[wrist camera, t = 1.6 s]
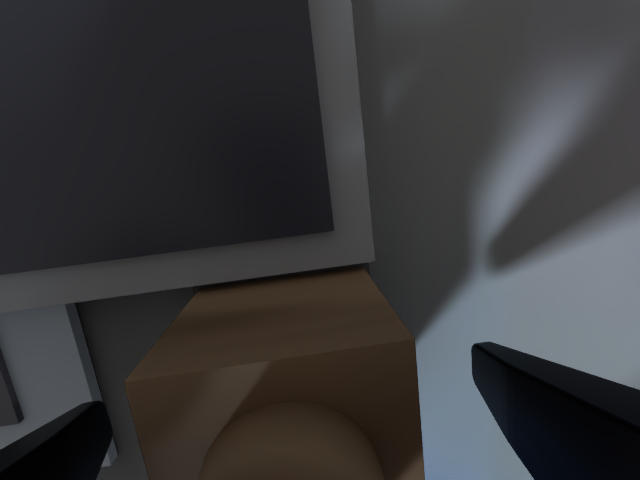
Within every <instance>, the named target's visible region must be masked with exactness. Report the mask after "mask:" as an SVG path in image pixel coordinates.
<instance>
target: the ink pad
mask: <svg viewBox="0 0 640 480" xmlns="http://www.w3.org/2000/svg"><path fill="white" fill-rule="evenodd" d="M374 261H375V252H374V241H373V230H372V219H371V209H370V198H369V187H368V176H367V165H366V154H365V144H364V133H363V122H362V111H361V100H360V89H359V79H358V68H357V57H356V46H355V35H354V24H353V14H352V3H351V0H0V313H3V312H11V311H18V310H25V309H32V308H40V307H47V306H54V305H61V304H69V303H76V302H83V301H91V300H98V299H105V298H112V297H120V296H127V295H134V294H141V293H149V292H156V291H163V290H171V289H178V288H185V287H192V286H200V285H207V284H214V283H221V282H229V281H236V280H243V279H250V278H258V277H265V276H272V275H280V274H287V273H294V272H301V271H309V270H316V269H323V268H330V267H338V266H345V265H352V264H360V263H367V262H374Z"/></svg>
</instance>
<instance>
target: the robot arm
mask: <svg viewBox="0 0 640 480" xmlns="http://www.w3.org/2000/svg"><path fill="white" fill-rule="evenodd" d="M471 354H472V376H473V380H474V382H475V385H476V386H477V388H478V390H479V392H480V394H481V395H482V397H483V399H484V401H485V402H486V404H487V406H488V408H489V409H490V411H491V413H492V415H493V417H494V418H495V420H496V422H497V424H498V425H499V427H500V429H501V431H502V432H503V434H504V436H505V437H506V439H507V441H508V442H509V444H510V445H511V447H512V448H513V450H514V451H515V453H516V454H517V455H518V457H519V458H520V460H521V461H522V463H523V464H524V465H525V467H526V468H527V470H528V471H529V473H530V474H531V475H532V477H533V478H534V480H640V390H638V389H635V388H632V387H629V386H626V385H623V384H619V383H616V382H613V381H610V380H607V379H604V378H601V377H598V376H595V375H592V374H588V373H585V372H582V371H579V370H576V369H573V368H570V367H567V366H564V365H561V364H557V363H554V362H551V361H548V360H545V359H542V358H539V357H536V356H533V355H530V354H526V353H523V352H520V351H517V350H514V349H511V348H508V347H505V346H502V345H499V344H495V343H492V342H482V343H476V344H474V345H473V346H472V349H471ZM112 436H113V431H112V426H111V423H110V419H109V416H108V412H107V409H106V405H105V404H104V402H102V401H91V402H85V403H82V404H80V405H78V406H76V407H75V408H73V409H71V410H69V411H68V412H66V413H64V414H62V415H61V416H59V417H57V418H55V419H53V420H52V421H50V422H48V423H46V424H45V425H43V426H41V427H39V428H38V429H36V430H34V431H32V432H30V433H29V434H27V435H25V436H23V437H22V438H20V439H18V440H16V441H15V442H13V443H11V444H9V445H7V446H6V447H4V448H2V449H0V480H96V478H97V476H98V473H99V471H100V469H101V466H102V464H103V461H104V459H105V456H106V454H107V451H108V449H109V446H110V444H111V441H112Z"/></svg>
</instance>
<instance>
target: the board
mask: <svg viewBox="0 0 640 480" xmlns="http://www.w3.org/2000/svg"><path fill="white" fill-rule="evenodd" d="M91 401H102V397H101V394H100V390H99V387H98V383H97V380H96V376H95V373H94V369H93V365H92V362H91V358H90V355H89V351H88V348H87V344H86V341H85V337H84V333H83V330H82V326H81V323H80V319H79V316H78V312H77V309H76V305H75V303H69V304H61V305H54V306H47V307H40V308H32V309H25V310H18V311H11V312H3V313H0V449H2V448H4V447H6V446H7V445H9V444H11V443H13V442H15V441H16V440H18V439H20V438H22V437H23V436H25V435H27V434H29V433H30V432H32V431H34V430H36V429H38V428H39V427H41V426H43V425H45V424H46V423H48V422H50V421H52V420H53V419H55V418H57V417H59V416H61V415H62V414H64V413H66V412H68V411H69V410H71V409H73V408H75V407H76V406H78V405H80V404H82V403H85V402H91ZM102 402H103V401H102ZM117 456H118V454H117V451H116V447H115V444H114V440H113V436H112V441H111V444H110V446H109V449H108V451H107V454H106V456H105V459H104V461H103V464H102V466H101V467H106V466H111V465H112V464H113V462H114V460H115V459H116V457H117Z"/></svg>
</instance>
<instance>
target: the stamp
mask: <svg viewBox="0 0 640 480" xmlns="http://www.w3.org/2000/svg"><path fill="white" fill-rule="evenodd" d="M193 289H194V294H195V295H194V296H193V298H192V299H191V300H190V301H189V303H188V304H187V305H186V306H185V307H184V309H183V310H182V311H181V312H180V314H179V315H178V316H177V317H176V318H175V320H174V321H173V322H172V323H171V325H170V326H169V327H168V328H167V329H166V331H165V332H164V333H163V334H162V336H161V337H160V338H159V339H158V340H157V342H156V343H155V344H154V345H153V347H152V348H151V349H150V350H149V351H148V353H147V354H146V355H145V356H144V358H143V359H142V360H141V361H140V363H139V364H138V365H137V366H136V367H135V369H134V370H133V371H132V372H131V374H130V375H129V376H128V377H127V378H126V380H125V381H124V382H123V383H124V387H125V391H126V394H127V398H128V402H129V406H130V409H131V413H132V417H133V421H134V425H135V428H136V432H137V436H138V440H139V443H140V447H141V451H142V455H143V459H144V462H145V466H146V470H147V474H148V477H149V480H425V474H424V460H423V446H422V432H421V418H420V404H419V390H418V376H417V362H416V348H415V339H414V337H413V336H412V334H411V333H410V332H409V330H408V329H407V327H406V326H405V325H404V323H403V322H402V320H401V319H400V318H399V316H398V315H397V313H396V312H395V311H394V309H393V308H392V306H391V305H390V304H389V302H388V301H387V299H386V298H385V297H384V295H383V294H382V292H381V291H380V290H379V288H378V287H377V285H376V284H375V283H374V281H373V280H372V278H371V277H370V275H369V265H368V262H367V263H360V264H352V265H345V266H338V267H330V268H323V269H316V270H309V271H301V272H294V273H287V274H280V275H272V276H265V277H258V278H250V279H243V280H236V281H229V282H221V283H214V284H207V285H200V286H193Z"/></svg>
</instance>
